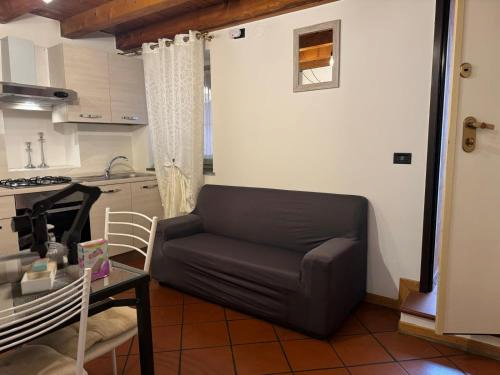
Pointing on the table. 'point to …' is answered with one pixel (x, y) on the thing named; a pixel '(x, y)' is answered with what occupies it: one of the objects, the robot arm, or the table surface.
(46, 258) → the terracotta block
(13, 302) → the table surface
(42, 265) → the mint green block
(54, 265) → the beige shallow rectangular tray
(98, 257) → the candy bar box
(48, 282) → the box
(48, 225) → the french press
